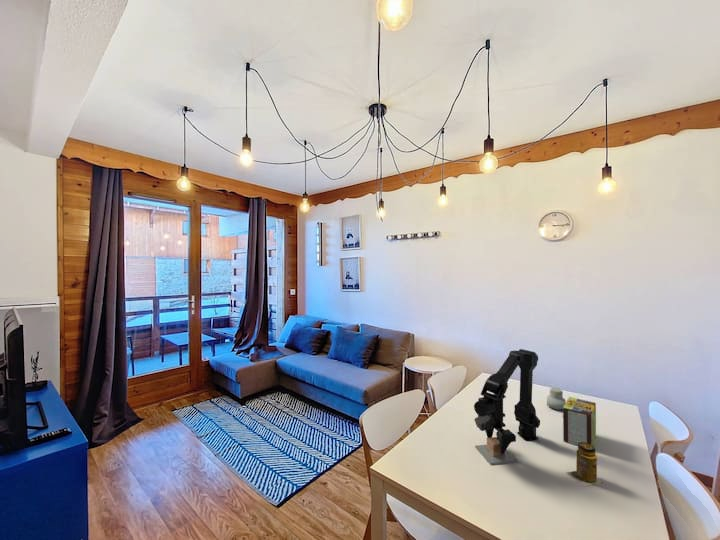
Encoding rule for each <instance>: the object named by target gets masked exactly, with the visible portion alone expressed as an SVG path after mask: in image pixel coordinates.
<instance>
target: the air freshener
mask: <svg viewBox="0 0 720 540" xmlns="http://www.w3.org/2000/svg"><path fill="white" fill-rule="evenodd" d="M563 395H564V394H563V390H562V389H560V388H557V387H551V388H549V395H547V397H546V405H547V406H548V407H549V408H551V409H553V410H557V411H563V407H564V405H565V403H566V398H564V397H563Z"/></svg>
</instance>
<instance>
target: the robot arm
mask: <svg viewBox="0 0 720 540" xmlns="http://www.w3.org/2000/svg"><path fill="white" fill-rule="evenodd" d="M538 361H539V356H538V354H537V353H536V352H535V351H531V350H526V349H523V348H520V349H519V350H511V351H509V354H508V356H507V358H506V359H505V360H504V362H503V364H502V365H501V366H500V368H499V369H498V370H497V372H495V373H493V374H491V375H490V376H489V377H488V378H487V379H486V380H485V382H484V385H483V386H482V389H481V392H480V396H483V397H478V401H476V402H475V403H474V405H473V408H474V411H475V413H476V414H477V417H475V418H474V419H473V420H474V422H475V426H476V427H477V429H479V431H481V432H484V431H485V434H486V439H487V438H491V437H493V434H494V431H495V430H496V432H495V433H496V434H495V437H497V438H496V439H497V440H498V441H499V443H500V451H501V454H504V452H505V451H506V449H507V450H508V448H509V446H510V444H511V443H514V442H516V441H517V436H516V435H515V434H514V433H513V432H512V431H511V430H510V429H504V428H506V423H505V422H504V418H505V417H506V413H504V399H506V398H507V395H505V394H506V392H507V390H508V388H509V383H508V381H509V380H510V378H511V377H512V375H513V373H514V372H516V371H515V370H517V367H519V369H520V372H519V375H520V380H519V401H517V403H516V404H515V405H514V407H513V408H514V412H513V414H514V417H515V421H517V422H518V431H517V432H516V434H517V435H518V436H520V438H522V439H523V440H524V441H528V442H529V441H537V440H539V437H538V436H537V429H539V428H540V425H541V420H540V418H539V417H538V416H537V412H536V407H535V406H534V404H533V402H532V401H533V375H534V374H533V372H534V370H535V369H536V367H537V366H538Z"/></svg>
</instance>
